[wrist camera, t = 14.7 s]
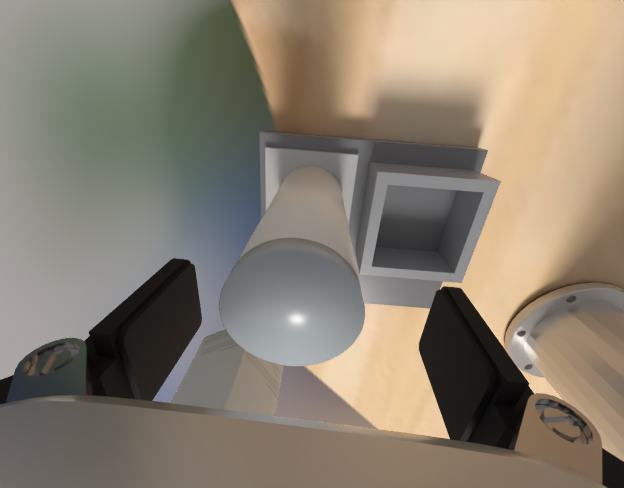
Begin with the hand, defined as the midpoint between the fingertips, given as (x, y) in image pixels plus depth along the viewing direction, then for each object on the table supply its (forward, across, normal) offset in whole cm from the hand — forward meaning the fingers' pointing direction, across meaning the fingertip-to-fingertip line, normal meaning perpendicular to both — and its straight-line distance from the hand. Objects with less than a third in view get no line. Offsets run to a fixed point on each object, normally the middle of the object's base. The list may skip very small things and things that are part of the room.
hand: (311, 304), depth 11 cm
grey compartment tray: (+15, -3, +2) cm, 15 cm away
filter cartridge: (+13, +1, -1) cm, 13 cm away
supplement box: (+15, +8, +19) cm, 26 cm away
